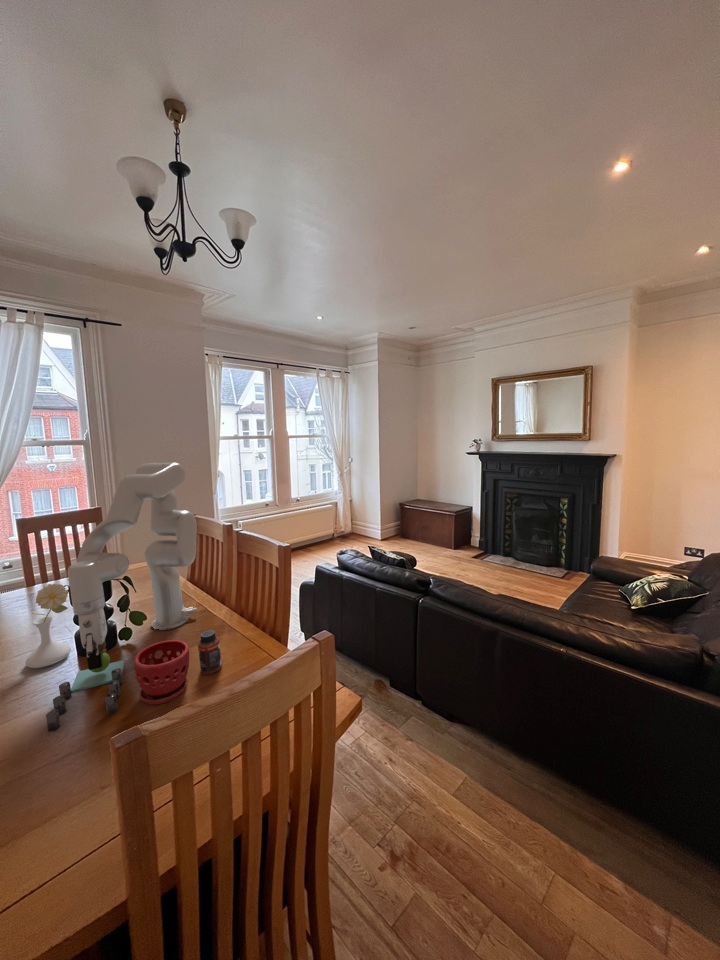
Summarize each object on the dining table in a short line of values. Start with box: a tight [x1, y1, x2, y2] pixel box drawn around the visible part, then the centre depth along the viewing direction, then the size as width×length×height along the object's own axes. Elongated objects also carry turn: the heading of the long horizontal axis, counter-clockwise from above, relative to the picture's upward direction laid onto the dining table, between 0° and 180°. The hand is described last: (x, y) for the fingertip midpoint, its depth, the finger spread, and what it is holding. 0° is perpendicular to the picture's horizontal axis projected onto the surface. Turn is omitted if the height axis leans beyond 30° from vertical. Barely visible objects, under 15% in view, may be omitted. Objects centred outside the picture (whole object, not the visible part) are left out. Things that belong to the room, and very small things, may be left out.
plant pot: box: [134, 639, 190, 705], centre depth 104 cm, size 13×13×12 cm
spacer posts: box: [45, 668, 124, 733], centre depth 101 cm, size 14×14×4 cm
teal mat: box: [71, 659, 126, 694], centre depth 113 cm, size 12×10×1 cm
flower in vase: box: [24, 583, 72, 669], centre depth 121 cm, size 13×11×25 cm
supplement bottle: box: [197, 629, 223, 675], centre depth 114 cm, size 6×6×11 cm
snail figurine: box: [91, 640, 111, 673], centre depth 113 cm, size 5×6×12 cm
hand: (97, 661), depth 113 cm, fingers closed on snail figurine, 5 cm apart
